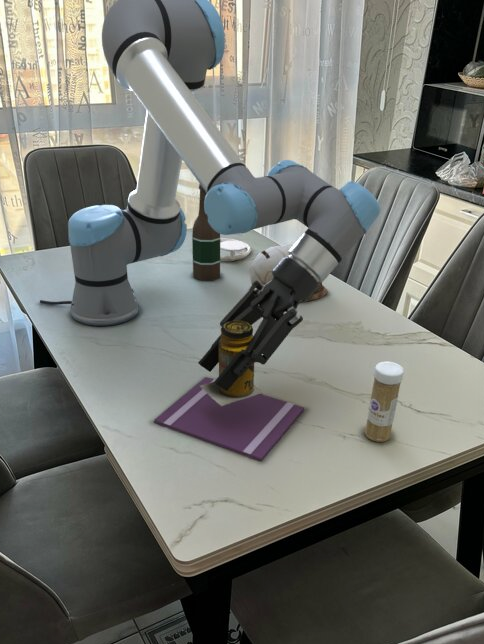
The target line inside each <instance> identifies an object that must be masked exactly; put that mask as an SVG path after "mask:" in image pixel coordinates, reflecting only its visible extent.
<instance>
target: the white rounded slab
mask: <svg viewBox="0 0 484 644" xmlns="http://www.w3.org/2000/svg"><path fill="white" fill-rule="evenodd" d="M245 249H247V250H246V251H244V252H243V253H240V254H237V255H236V252H241V251H243V250H245ZM220 250H223V251H226V252H229V255H220V261H230V262H234V261H236V260H240V259H243V258H246V257H247V256H249V254H251V252H252V248H251V246H250V245H249V244H248V243H246V242H244V241H242V240H238V239H233V238H222V237H220Z"/></svg>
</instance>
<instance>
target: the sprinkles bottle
mask: <svg viewBox="0 0 484 644" xmlns="http://www.w3.org/2000/svg"><path fill="white" fill-rule="evenodd" d="M404 372H405V369H404V368H403V366H402V365H400V364H399V363H396V362H393V361H387V360H386V361H380V362H378V363H377V364H375V367H374V372H373V379H374V380H373V383H372V384H373V385H372V389H371V394H370V401H369V405H368V410H367V418H366V425H365V428H364V435H365V436H366V438H367V439H369V440H371V441H373V442H377V443H379V442H381V443H382V442H386V441H388V440H389V439H390V438H391V436H392V428H393V423H394V419H395V416H396V415H395V414H396V409H397V406H398V405H397V404H398V399H399V393H400V389H401V388H400V387H401V383H402V381H403V379H404V374H405V373H404Z"/></svg>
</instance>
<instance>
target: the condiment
mask: <svg viewBox="0 0 484 644" xmlns="http://www.w3.org/2000/svg"><path fill="white" fill-rule="evenodd" d="M220 335H221V339H220V341H219V362H218V376H219V375H220V374H221V373H222V372H223V371H224V370H225V368H226V367H227V366H228V365H229V364H230V362H231V361H232V360H233V359H234V358H235V357H236V355H237V354H238V353H239V352H241V350H246V348H247V346H248V345H249V343H250V341H251V339H252V338H253V336H254V328H253V325H251V324H249V323H248V322H244V321H237V320H236V321H228V322H226V323H224V324H223V325H222V326H220ZM253 351H255V350H253ZM200 387H201V388H202V389H203V390H204V391H205V392H206V393H207V394H208V395H209V396H210V397H212V399H214V400H215V401H216V402H217V403H218V404H220V405H221V406H224V405H226V404H230V403H232V402H235V401H239V400H242V399H246V398H248V397H251V396H255V395H257V394H263V393H264V391H263V390H262V389H261V388H259V386H257V385H255V363H253V364H252V365H251V366H250V367H249V368H248V369H247V370H246V372H245V373H244V374H243V375H242V376H241V377H240V376H239V378H238V379H237V380H236V381H235V382H234V383H233V385H232V386H231V387H230V388H229V389H228V390H227V391H225V390H224V389H222V388H221V387H219V386H218V385H217V384H215V382H211V383H208V384H203V385H200Z"/></svg>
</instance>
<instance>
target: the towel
mask: <svg viewBox="0 0 484 644" xmlns="http://www.w3.org/2000/svg"><path fill="white" fill-rule="evenodd" d="M216 379H217V378H212V377H208V376H205V377H203V378H202V379H201V380H200V381H198V382H197V383H196V384H195V385H194V386H193V387H192V388H191V389H189V390H188V391H187V392H186V393H185V394H183V395H182V396H181V397H180V398H178V399H177V400H176V401H175V402H174V403H173V404H171V405H170V406H169V407H168V408H166V409H165V410H164V411H163V412H162V413H160V414H159V415H158V416H157V417H156V418H154V420H153V423H155V424H157V425H160V426H163V427H165V428H168V429H171V430H173V431H174V430H175V431H177V432H179V433H182V434H184V435H188V436H190V437H193V438H196V439H198V440H201V441H203V442H207V443H210V444H212V445H214V446H218V447H220V448H224V449H226V450H229V451H231V452H234V453H237V454H240V455H243V456H245V457H249V458H251V459H254V460H257V461H260V462H262V461H263V460H264V458H265V457H266V456H267V455H268V454H269V453H270V451H271V450H272V449H273V448H274V447H275V446H276V445H277V443H278V442H279V441H280V440H281V439H282V437H283V436H284V435H285V434H286V433H287V432H288V431H289V429H290V428H291V427H292V426H293V424H295V422H296V421H297V420H298V418H300V416H301V415H302V414H303V412H304V411H305V407H304V406H301V405H299V404H298V405H297V404H295V403H293V402H290V401H285V400H281V399H279V398H276V397H272V396H269V395H266V394H263V393H260V394H257V395H255V396H251V397H248V398H246V399H242V400H239V401H235V402H232V403H230V404H226V405H224V406H221V405H220V404H218V403H217V402H216V401H215V400H214V399H212V397H210V396H209V395H208V394H207V393H206V392H205V391H204V390H203V389H202V388H201V387H200V385H203V384H208V383H211V382H214V381H215V380H216Z"/></svg>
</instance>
